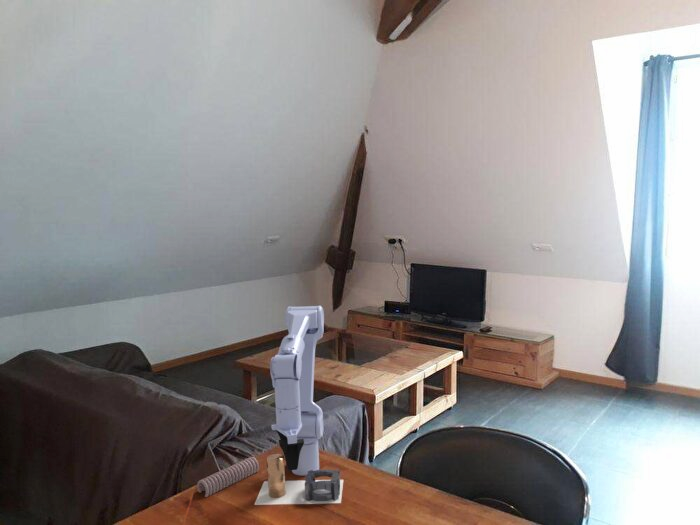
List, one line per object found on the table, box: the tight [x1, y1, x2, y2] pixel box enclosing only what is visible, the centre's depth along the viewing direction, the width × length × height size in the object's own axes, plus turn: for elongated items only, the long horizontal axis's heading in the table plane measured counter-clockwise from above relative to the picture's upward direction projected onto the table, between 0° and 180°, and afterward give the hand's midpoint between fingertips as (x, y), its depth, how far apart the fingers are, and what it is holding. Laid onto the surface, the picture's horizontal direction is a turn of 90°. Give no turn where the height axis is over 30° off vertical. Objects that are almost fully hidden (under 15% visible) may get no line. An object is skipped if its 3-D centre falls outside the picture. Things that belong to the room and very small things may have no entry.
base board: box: [254, 479, 344, 506], centre depth 135 cm, size 20×12×1 cm, turn 88°
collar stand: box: [304, 468, 341, 501], centre depth 134 cm, size 8×8×4 cm
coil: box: [196, 456, 260, 498], centre depth 142 cm, size 5×5×18 cm
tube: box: [266, 453, 286, 498], centre depth 134 cm, size 4×4×9 cm
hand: (290, 462), depth 132 cm, fingers open, 7 cm apart
